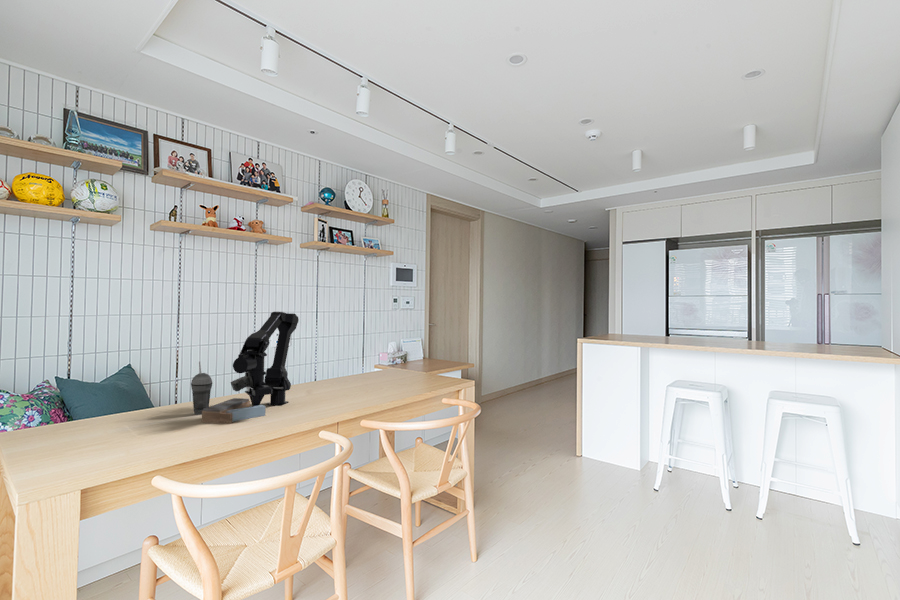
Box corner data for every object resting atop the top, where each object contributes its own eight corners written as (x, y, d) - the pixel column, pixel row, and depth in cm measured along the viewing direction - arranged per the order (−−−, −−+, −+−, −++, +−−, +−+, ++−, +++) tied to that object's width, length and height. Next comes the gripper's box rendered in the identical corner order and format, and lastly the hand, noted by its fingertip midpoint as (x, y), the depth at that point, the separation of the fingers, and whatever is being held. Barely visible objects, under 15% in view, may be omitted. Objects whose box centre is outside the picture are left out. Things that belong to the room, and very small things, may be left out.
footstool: (233, 409, 170) (233, 397, 170) (259, 411, 168) (259, 399, 168) (201, 422, 152) (201, 408, 152) (230, 424, 150) (230, 410, 150)
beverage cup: (201, 417, 158) (203, 363, 158) (185, 415, 160) (186, 362, 160) (216, 412, 166) (217, 360, 166) (200, 410, 167) (201, 359, 167)
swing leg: (261, 413, 163) (262, 404, 163) (265, 415, 161) (265, 406, 161) (224, 420, 153) (224, 410, 153) (227, 422, 151) (227, 412, 151)
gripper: (225, 368, 164) (224, 408, 164) (241, 374, 151) (240, 418, 151) (255, 365, 172) (254, 404, 172) (273, 371, 158) (272, 413, 158)
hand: (255, 409), depth 163 cm, fingers closed
